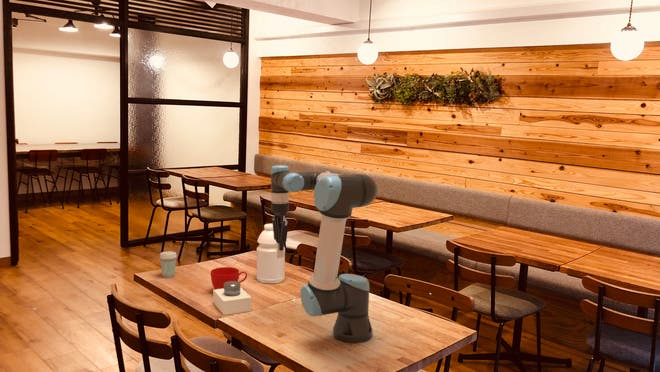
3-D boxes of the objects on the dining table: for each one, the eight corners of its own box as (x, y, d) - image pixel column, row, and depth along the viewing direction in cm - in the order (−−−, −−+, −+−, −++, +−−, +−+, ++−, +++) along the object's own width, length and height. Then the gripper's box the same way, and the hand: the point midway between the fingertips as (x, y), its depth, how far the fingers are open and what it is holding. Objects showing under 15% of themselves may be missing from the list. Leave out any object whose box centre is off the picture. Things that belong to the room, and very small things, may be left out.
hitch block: (251, 311, 244) (251, 297, 243) (223, 315, 239) (223, 301, 238) (239, 299, 258) (239, 286, 257) (213, 303, 253) (213, 289, 252)
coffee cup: (159, 274, 292) (159, 251, 291) (176, 273, 295) (176, 250, 293) (159, 279, 284) (159, 255, 282) (177, 278, 287) (177, 254, 285)
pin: (242, 307, 247) (242, 284, 245) (226, 309, 244) (226, 286, 242) (237, 302, 253) (237, 280, 252) (221, 304, 250) (221, 282, 248)
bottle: (259, 275, 295) (259, 221, 291) (286, 276, 294) (286, 222, 290) (254, 283, 281) (254, 227, 277) (282, 284, 280) (283, 228, 276)
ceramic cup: (250, 293, 266) (250, 272, 265) (213, 297, 260) (213, 276, 258) (243, 285, 278) (243, 265, 277) (208, 288, 272) (208, 268, 270)
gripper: (294, 203, 238) (294, 259, 241) (281, 199, 249) (281, 253, 252) (278, 205, 235) (278, 261, 237) (265, 200, 246) (265, 255, 249)
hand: (280, 257), depth 245 cm, fingers closed
